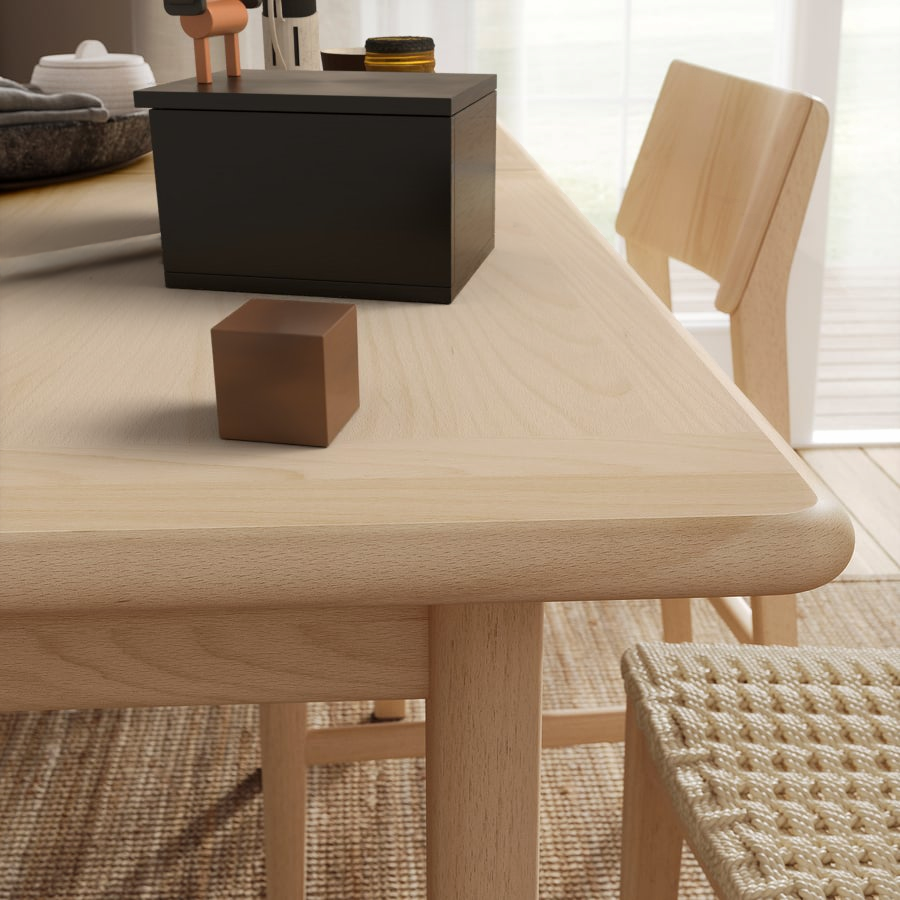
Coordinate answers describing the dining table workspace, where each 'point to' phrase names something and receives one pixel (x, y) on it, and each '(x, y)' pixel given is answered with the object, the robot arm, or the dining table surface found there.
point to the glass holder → (290, 35)
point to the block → (286, 371)
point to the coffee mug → (343, 59)
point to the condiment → (400, 54)
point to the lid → (302, 81)
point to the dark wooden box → (326, 201)
